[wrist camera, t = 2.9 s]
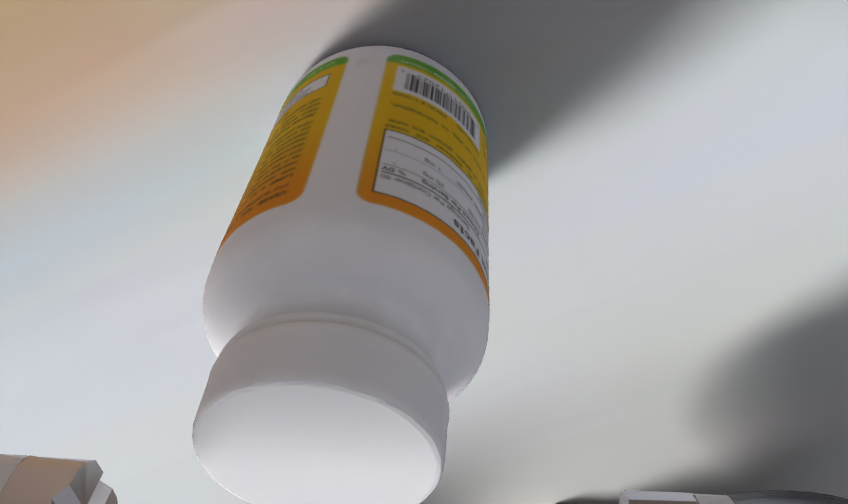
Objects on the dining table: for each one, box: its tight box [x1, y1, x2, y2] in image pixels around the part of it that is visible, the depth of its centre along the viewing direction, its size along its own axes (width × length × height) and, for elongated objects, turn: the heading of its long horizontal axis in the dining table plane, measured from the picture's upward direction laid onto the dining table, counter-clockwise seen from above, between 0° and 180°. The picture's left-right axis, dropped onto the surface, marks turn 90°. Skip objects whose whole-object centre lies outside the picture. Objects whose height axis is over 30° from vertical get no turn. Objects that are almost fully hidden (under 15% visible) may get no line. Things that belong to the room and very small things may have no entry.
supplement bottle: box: [192, 46, 489, 504], centre depth 15 cm, size 5×5×10 cm
